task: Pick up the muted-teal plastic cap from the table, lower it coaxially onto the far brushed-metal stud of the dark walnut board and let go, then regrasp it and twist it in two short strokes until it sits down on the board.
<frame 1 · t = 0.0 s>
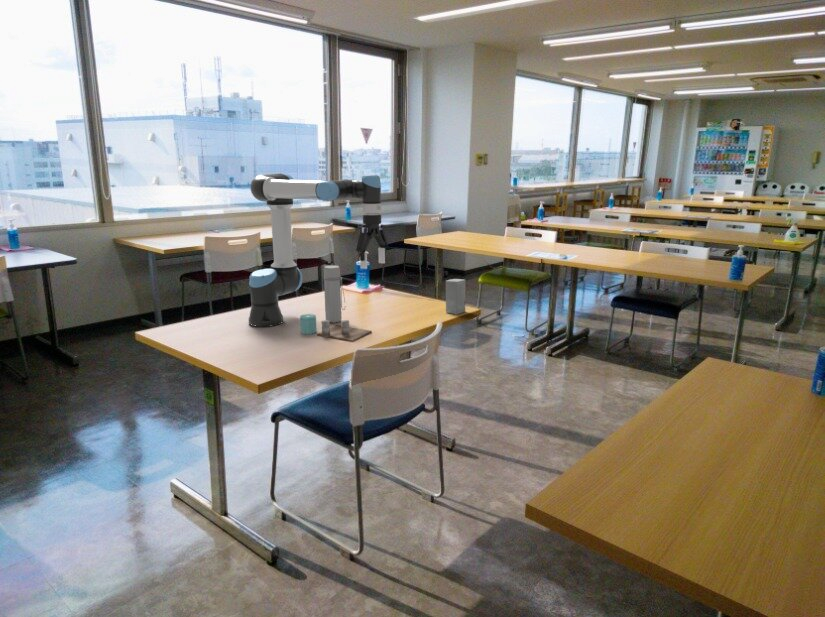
hand: (373, 265, 231), 28 cm above the table, fingers open, 13 cm apart
stud board: (344, 333, 233), on the table
skincare box: (455, 312, 266), on the table
cap: (308, 331, 236), on the table
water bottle: (335, 321, 252), on the table
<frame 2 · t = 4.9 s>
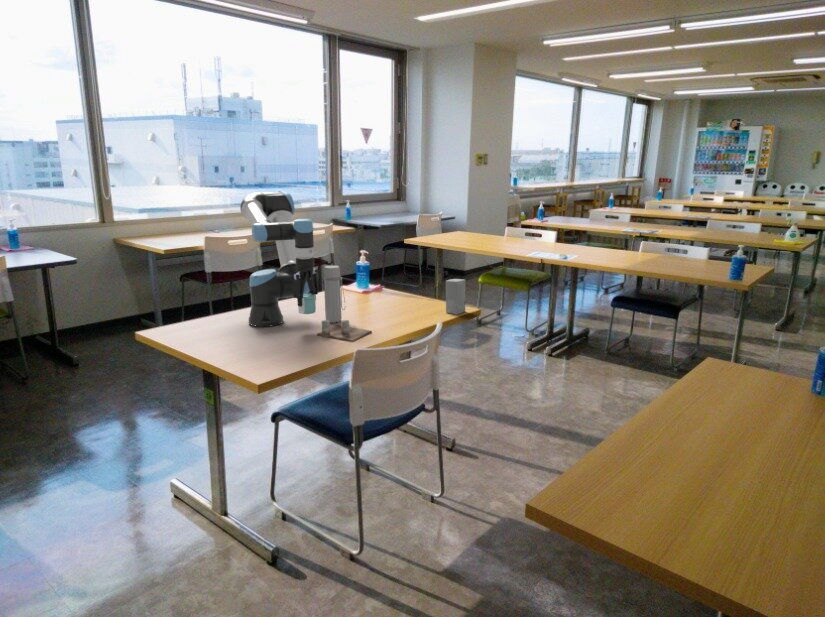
hand: (307, 311, 234), 9 cm above the table, fingers closed on cap, 6 cm apart
cap: (307, 312, 234), point 9 cm above the table, touching gripper
everything else where it was.
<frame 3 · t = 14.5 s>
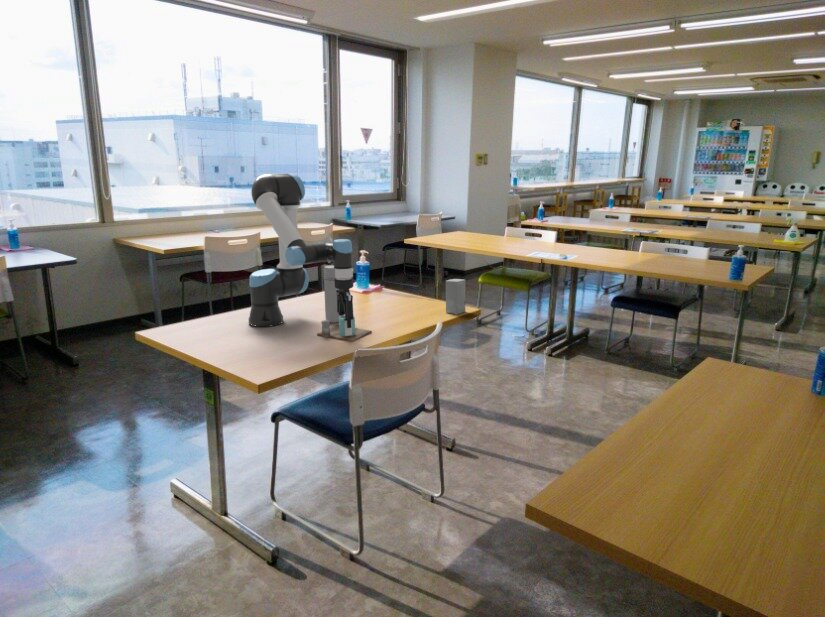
hand: (345, 332, 230), 1 cm above the table, fingers closed on cap, 6 cm apart
cap: (347, 333, 230), point 1 cm above the table, touching gripper, stud board
everything else where it was.
when the fingers open (1 cm above the table, at t = 14.7 s): cap stays where it is, resting on stud board.
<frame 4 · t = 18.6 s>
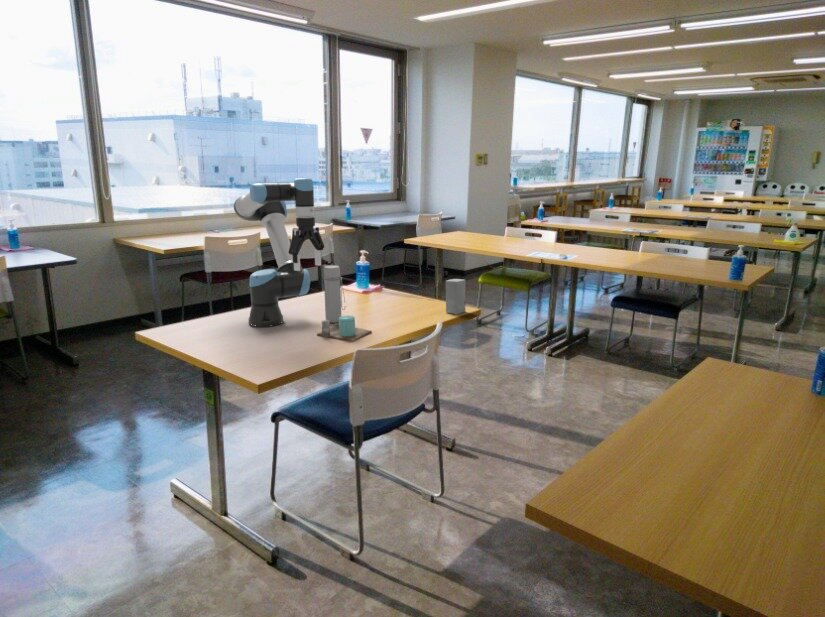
hand: (308, 267, 233), 27 cm above the table, fingers open, 13 cm apart
cap: (347, 333, 230), point 1 cm above the table, touching stud board
everything else where it was.
at the end: cap 0.7 cm from the target spot on the stud board, point 0.8 cm above the stud board's base; cap tilted 0°; the gripper is holding nothing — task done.
